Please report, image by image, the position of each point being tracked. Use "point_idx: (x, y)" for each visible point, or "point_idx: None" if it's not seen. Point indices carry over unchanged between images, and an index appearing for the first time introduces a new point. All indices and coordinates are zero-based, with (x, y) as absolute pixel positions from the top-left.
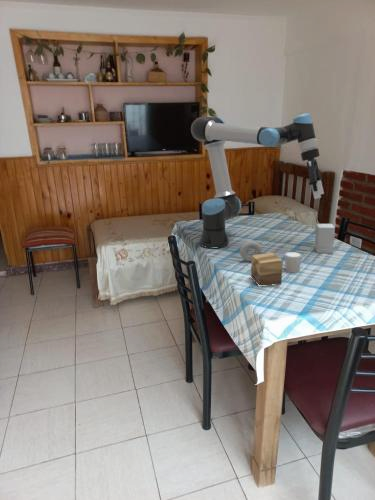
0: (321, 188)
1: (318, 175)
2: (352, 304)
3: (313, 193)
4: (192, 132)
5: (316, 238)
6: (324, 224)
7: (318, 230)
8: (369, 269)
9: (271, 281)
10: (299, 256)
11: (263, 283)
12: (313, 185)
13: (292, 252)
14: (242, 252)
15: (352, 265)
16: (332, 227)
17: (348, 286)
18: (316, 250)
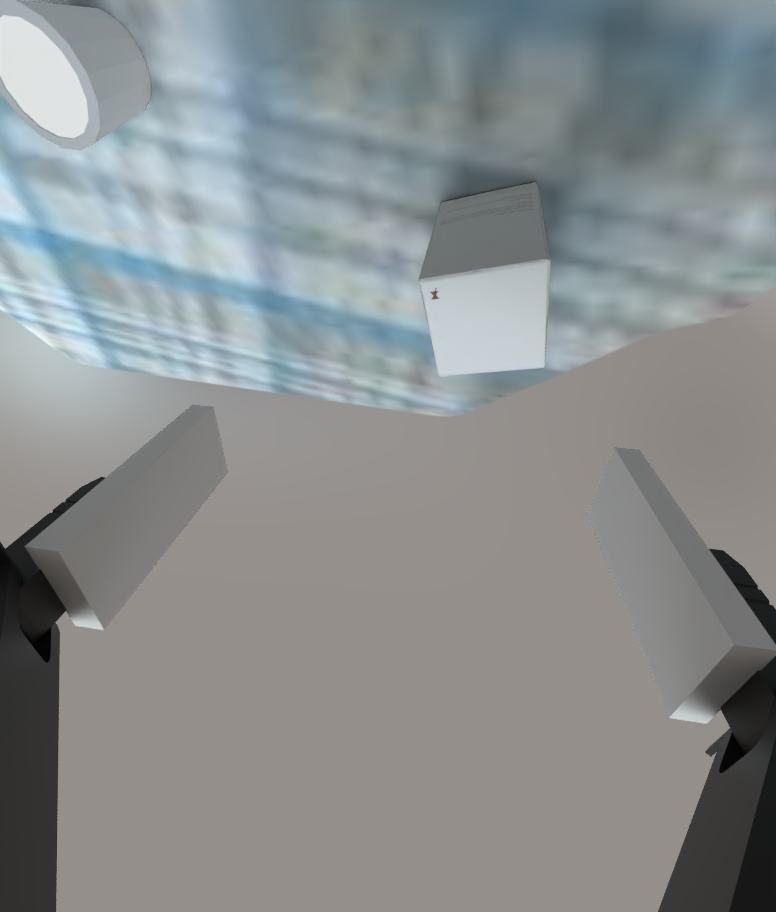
0: (617, 562)
1: (686, 859)
2: (38, 326)
3: (147, 448)
4: None
5: (478, 224)
6: (515, 321)
7: (424, 267)
8: (311, 395)
9: None
10: (48, 137)
11: None
12: (15, 555)
13: (71, 67)
14: None
15: (324, 354)
16: (439, 364)
17: (137, 326)
18: (450, 203)
